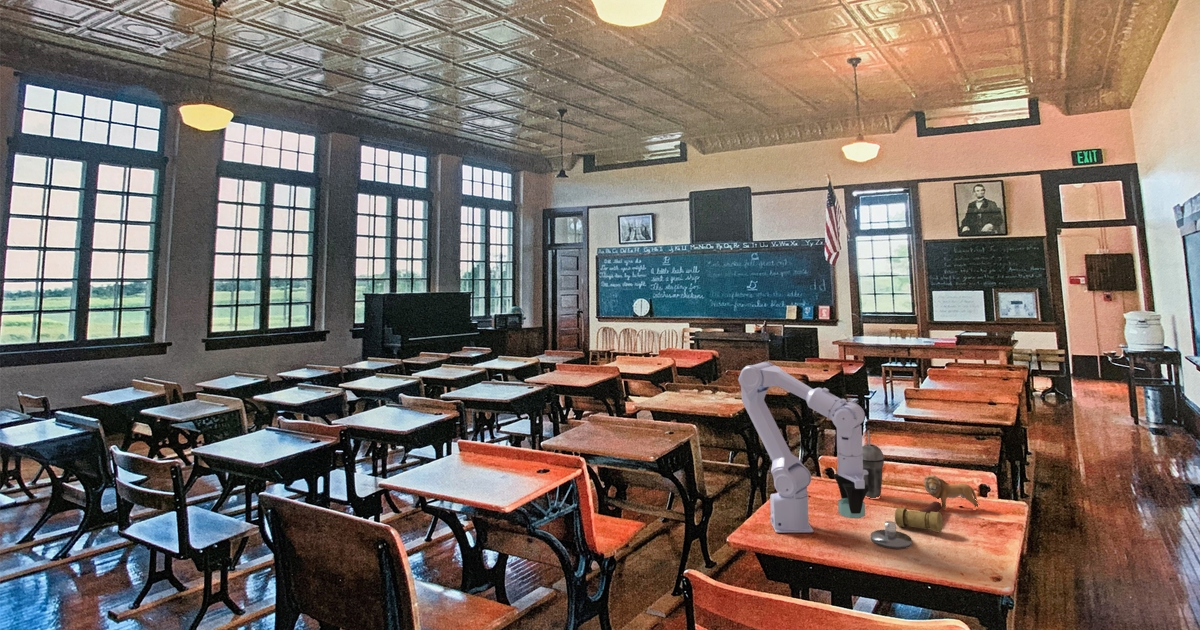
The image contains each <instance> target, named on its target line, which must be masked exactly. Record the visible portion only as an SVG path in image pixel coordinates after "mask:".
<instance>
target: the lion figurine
mask: <svg viewBox="0 0 1200 630" xmlns="http://www.w3.org/2000/svg"><path fill="white" fill-rule="evenodd" d="M923 484H924V489H925V491H926V492H927V493H929V495H930V496H931V497H933V498H935V499H936V498H937V499H939V498H941V510H944V511H945V510H946V509H947V503H946V502H947V498H949V499H956V498H958V497H959V496H960V498H961V497H962V498H966V500H967V502H970V503H971V504H973V505H974V507H975V506H977V507H978V504H979V502H978V499H977V498H978V497H977V495H976V491H975V489H973V487H972V486H970V485H969V484H966V483H957V484H955V483H954V484H949V483H947V482H946V481H945V480H944V479H941V478H940V477H938V476H936V475H933V474H931V475H927V476H926V477H924V481H923ZM962 498H961V499H962ZM975 499H976V500H977V501H976V500H975ZM977 503H978V504H977ZM978 508H979V507H978Z"/></svg>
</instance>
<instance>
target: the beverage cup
mask: <svg viewBox="0 0 1200 630" xmlns="http://www.w3.org/2000/svg"><path fill="white" fill-rule="evenodd" d="M870 434H871V433H870V430H868V429H867V439H868V443H867V444H865V445H862V453H863V470H867V471H868V475H864V479H863V480H864V481H865V485H868V486H869V490H868V492H867V493H866V495H865V496H867V497H870V498H876V497H879V496H880V495H881V496H882V486H883V484H882V483H883V469H884V464H885V457H884V456H885V455H884V452H883V451H882V449H880V447H878V446H877V445H875V444H871V435H870ZM881 496H880V497H881Z"/></svg>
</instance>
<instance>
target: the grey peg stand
mask: <svg viewBox="0 0 1200 630" xmlns="http://www.w3.org/2000/svg"><path fill="white" fill-rule="evenodd" d="M884 528H885V529H878V530H874V531H872V532H871V533H870V541H871V542H872V543H873V544H874V545H876V546H879V547H882V548H885V549H890V550H891V549H892V550H903V549H909V548H910V547H911V546H912V545H913V540H912V537H911V536H910V535H908V534H906V533H904V532H903V531H898V530H897V524H896V522H895V521H891V520H888V521H887V520H885V521H884Z"/></svg>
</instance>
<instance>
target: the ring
mask: <svg viewBox="0 0 1200 630" xmlns="http://www.w3.org/2000/svg"><path fill="white" fill-rule="evenodd" d="M837 503H838V505H837V506H838V507H837V508H838V509H837V510H838V514H839V515H840V516H841V517H845V518H848V519H862V518H864V517H865V516H866V503H865V502H864V501H863V505H862V509H861V513H857V514H852V513H851V511H850V508H849V502H848V498H840V499H838V500H837Z"/></svg>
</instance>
